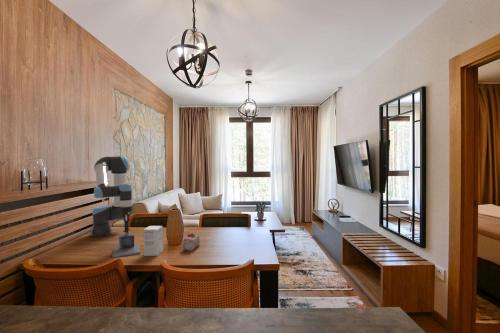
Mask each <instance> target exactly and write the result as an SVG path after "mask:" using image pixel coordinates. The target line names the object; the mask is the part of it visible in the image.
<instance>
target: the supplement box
mask: <svg viewBox="0 0 500 333" xmlns="http://www.w3.org/2000/svg"><path fill="white" fill-rule="evenodd" d="M163 229H164V227H163V225H149V226H147V227H146V228H144V229H143V232H142V233H143V257H145V256H147V257H149V256H150V257H151V256H154V257H155V256H156V257H158V256H160V254H162V252H163V251H164V234H163V232H164V230H163Z"/></svg>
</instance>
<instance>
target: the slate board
mask: <svg viewBox="0 0 500 333" xmlns="http://www.w3.org/2000/svg"><path fill="white" fill-rule="evenodd" d="M133 255H141V245H140V243H138V244H135V243H134V247H131V248H125V249H119V246H115V247H113V251H112V256H111V257H112V259H114V258H115V259H116V258H120V257H126V256H127V257H128V256H133Z"/></svg>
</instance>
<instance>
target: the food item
mask: <svg viewBox="0 0 500 333" xmlns="http://www.w3.org/2000/svg"><path fill="white" fill-rule="evenodd" d="M181 243H182V249H183V250H184V251H187V252H193V251H194V250H196V248H197V247H198V246H200V235H199V234H198V233H190V234H189V233H188V234H187V237H185V238H183V240H182V242H181Z"/></svg>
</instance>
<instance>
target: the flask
mask: <svg viewBox="0 0 500 333" xmlns="http://www.w3.org/2000/svg"><path fill="white" fill-rule="evenodd" d="M118 243H119V244H118V247H119V249H125V248H131V247H134V245H135V234H134V233H129V234H127V232H126V234H125V233H124V234H121V235H119V237H118Z"/></svg>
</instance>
